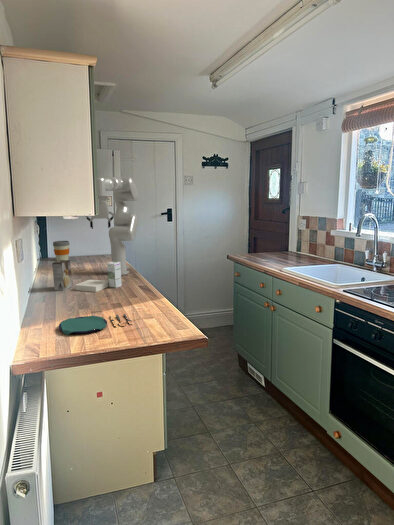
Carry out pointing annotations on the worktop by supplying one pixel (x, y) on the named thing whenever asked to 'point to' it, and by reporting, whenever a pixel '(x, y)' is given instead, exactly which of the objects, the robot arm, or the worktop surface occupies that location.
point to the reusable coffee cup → (61, 250)
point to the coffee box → (62, 275)
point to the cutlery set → (84, 324)
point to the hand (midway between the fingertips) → (100, 228)
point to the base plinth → (91, 285)
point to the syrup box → (114, 274)
